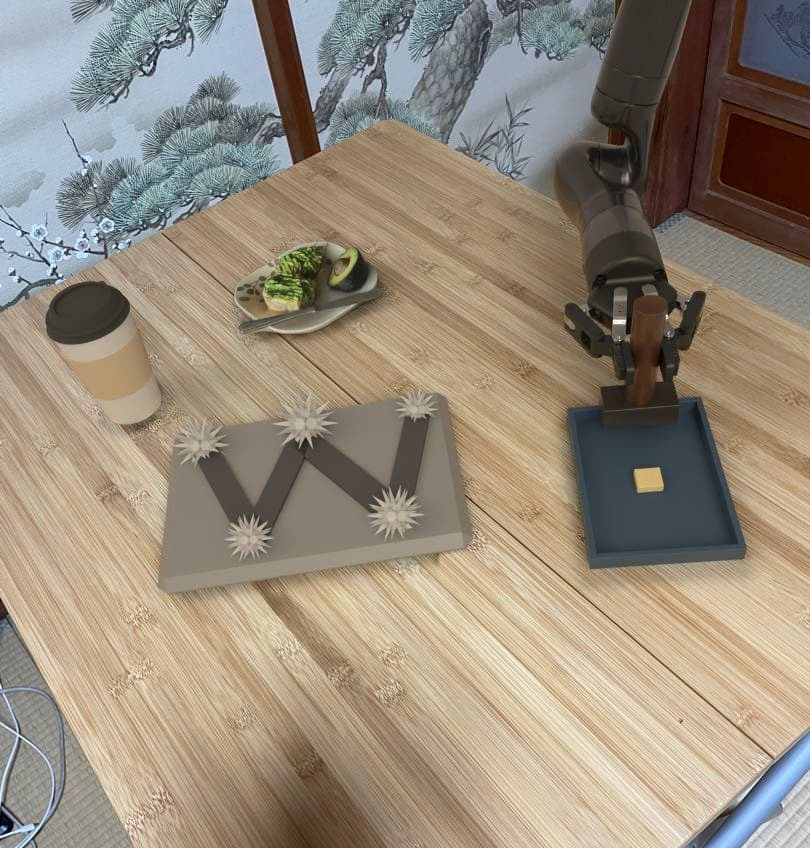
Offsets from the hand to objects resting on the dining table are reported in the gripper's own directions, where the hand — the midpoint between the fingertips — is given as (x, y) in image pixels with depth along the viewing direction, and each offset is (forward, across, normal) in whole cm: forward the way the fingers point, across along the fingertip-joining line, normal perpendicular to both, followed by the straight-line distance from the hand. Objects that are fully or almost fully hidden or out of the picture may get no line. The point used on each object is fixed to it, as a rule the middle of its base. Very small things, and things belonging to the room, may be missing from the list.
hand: (649, 375), depth 74 cm
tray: (+4, 0, +11) cm, 12 cm away
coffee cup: (-15, -56, +11) cm, 59 cm away
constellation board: (+2, -33, +11) cm, 34 cm away
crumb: (+4, 0, +10) cm, 11 cm away
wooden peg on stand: (-3, 0, +8) cm, 8 cm away
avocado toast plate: (-33, -36, +11) cm, 50 cm away
